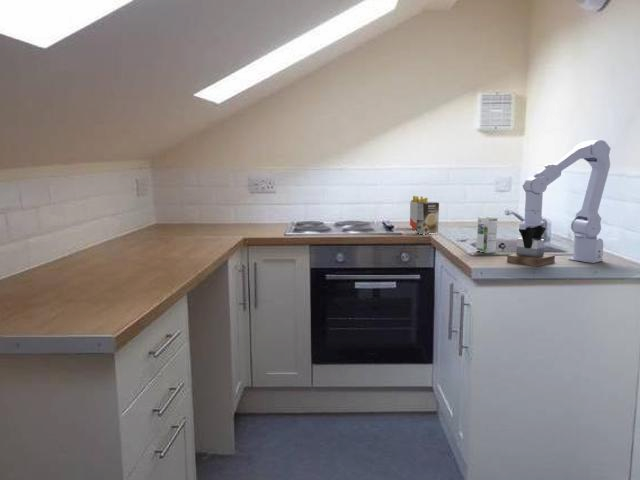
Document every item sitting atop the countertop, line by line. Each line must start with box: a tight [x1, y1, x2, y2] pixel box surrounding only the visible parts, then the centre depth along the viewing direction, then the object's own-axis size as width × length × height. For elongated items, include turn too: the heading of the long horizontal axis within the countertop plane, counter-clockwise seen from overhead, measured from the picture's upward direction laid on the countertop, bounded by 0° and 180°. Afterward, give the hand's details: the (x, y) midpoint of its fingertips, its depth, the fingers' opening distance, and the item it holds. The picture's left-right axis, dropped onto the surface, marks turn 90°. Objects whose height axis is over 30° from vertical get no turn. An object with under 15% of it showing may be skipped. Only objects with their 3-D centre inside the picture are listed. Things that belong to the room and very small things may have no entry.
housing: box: [516, 237, 545, 257], centre depth 197 cm, size 8×5×6 cm, turn 39°
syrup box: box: [476, 215, 498, 254], centre depth 218 cm, size 6×6×14 cm
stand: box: [506, 253, 556, 267], centre depth 197 cm, size 12×12×2 cm
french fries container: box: [409, 195, 429, 230], centre depth 285 cm, size 5×11×18 cm, turn 41°
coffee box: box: [415, 201, 440, 235], centre depth 269 cm, size 9×6×16 cm
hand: (531, 247), depth 197 cm, fingers closed on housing, 5 cm apart
